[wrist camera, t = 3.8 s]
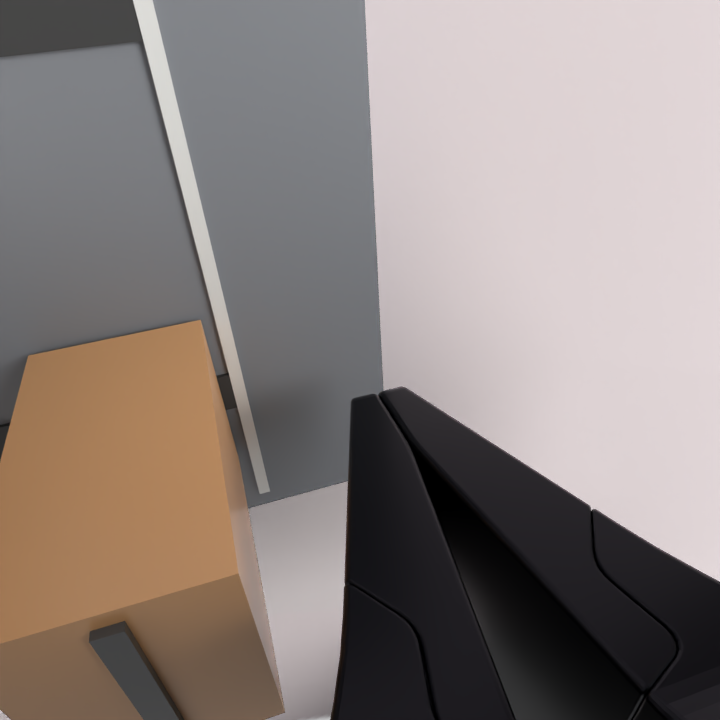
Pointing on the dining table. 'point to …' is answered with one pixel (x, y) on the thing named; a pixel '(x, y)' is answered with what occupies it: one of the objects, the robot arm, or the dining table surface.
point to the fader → (129, 541)
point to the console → (198, 206)
